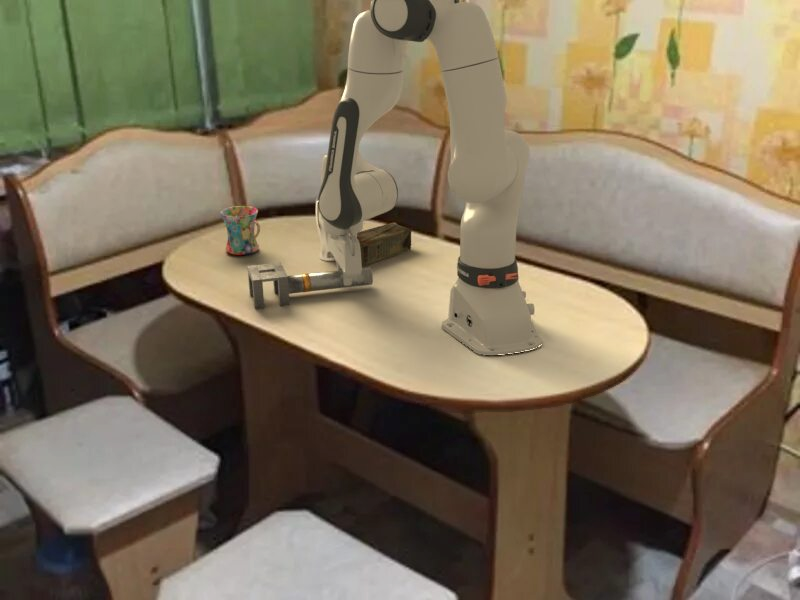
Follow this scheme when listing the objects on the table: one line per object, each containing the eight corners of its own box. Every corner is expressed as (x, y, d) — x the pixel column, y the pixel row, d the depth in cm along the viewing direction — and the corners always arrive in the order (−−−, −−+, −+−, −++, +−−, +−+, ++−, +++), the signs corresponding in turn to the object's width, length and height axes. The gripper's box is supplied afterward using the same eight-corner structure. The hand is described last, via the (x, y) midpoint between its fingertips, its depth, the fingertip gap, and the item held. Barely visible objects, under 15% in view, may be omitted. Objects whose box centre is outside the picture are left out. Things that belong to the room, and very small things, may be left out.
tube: (368, 281, 204) (368, 264, 203) (373, 287, 200) (372, 270, 199) (282, 291, 199) (281, 273, 198) (285, 297, 195) (284, 279, 194)
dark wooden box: (413, 251, 225) (413, 226, 223) (356, 270, 213) (356, 245, 210) (391, 243, 230) (391, 219, 228) (335, 262, 218) (334, 237, 216)
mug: (216, 252, 225) (212, 212, 221) (245, 242, 231) (241, 203, 227) (246, 262, 218) (243, 221, 213) (275, 253, 224) (272, 212, 220)
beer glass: (347, 252, 224) (345, 195, 218) (343, 262, 217) (341, 203, 211) (320, 252, 224) (317, 194, 218) (315, 261, 218) (312, 203, 212)
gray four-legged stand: (289, 305, 193) (287, 276, 191) (255, 309, 192) (252, 280, 189) (282, 290, 201) (280, 262, 199) (249, 293, 199) (247, 266, 197)
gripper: (368, 235, 186) (369, 295, 192) (346, 207, 204) (348, 263, 210) (338, 238, 185) (340, 299, 190) (319, 209, 203) (322, 266, 208)
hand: (344, 280), depth 200 cm, fingers closed on tube, 4 cm apart
